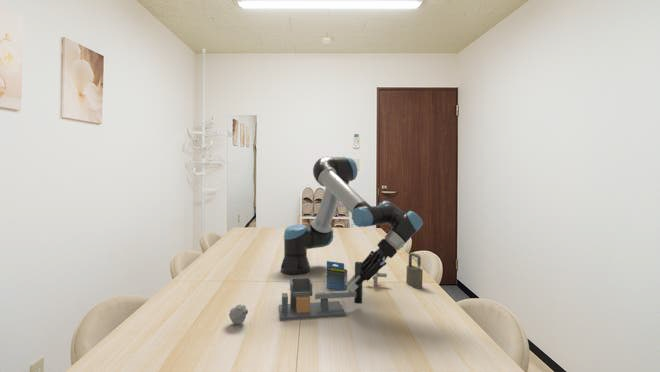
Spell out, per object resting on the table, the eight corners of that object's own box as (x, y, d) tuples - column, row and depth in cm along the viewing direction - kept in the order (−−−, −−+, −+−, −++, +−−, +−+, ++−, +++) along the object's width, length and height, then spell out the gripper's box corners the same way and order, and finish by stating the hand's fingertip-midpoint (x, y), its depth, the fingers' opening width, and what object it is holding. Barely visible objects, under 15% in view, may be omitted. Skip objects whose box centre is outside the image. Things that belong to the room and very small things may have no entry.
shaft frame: (280, 320, 127) (280, 287, 127) (278, 307, 139) (278, 277, 138) (345, 316, 132) (346, 284, 131) (339, 303, 143) (339, 274, 143)
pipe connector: (385, 289, 159) (386, 267, 159) (363, 288, 161) (363, 266, 161) (386, 282, 169) (387, 261, 168) (365, 281, 171) (366, 260, 170)
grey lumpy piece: (239, 330, 120) (239, 309, 120) (225, 324, 124) (224, 305, 123) (252, 323, 125) (252, 303, 125) (238, 318, 129) (237, 299, 128)
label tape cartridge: (347, 288, 161) (347, 261, 161) (344, 290, 158) (344, 263, 157) (329, 285, 165) (330, 258, 164) (326, 287, 162) (326, 260, 161)
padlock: (416, 288, 161) (417, 256, 160) (405, 283, 168) (405, 252, 167) (423, 287, 163) (424, 255, 162) (411, 282, 170) (412, 251, 169)
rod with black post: (315, 306, 134) (315, 265, 133) (314, 303, 137) (314, 263, 136) (363, 303, 137) (363, 263, 136) (361, 300, 140) (361, 261, 139)
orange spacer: (296, 312, 132) (296, 299, 132) (295, 307, 137) (295, 294, 137) (310, 311, 133) (310, 298, 132) (308, 306, 138) (308, 293, 137)
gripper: (404, 256, 132) (360, 302, 130) (390, 246, 148) (350, 287, 146) (391, 242, 131) (346, 289, 129) (377, 233, 147) (338, 275, 145)
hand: (348, 288), depth 138 cm, fingers closed on rod with black post, 3 cm apart
